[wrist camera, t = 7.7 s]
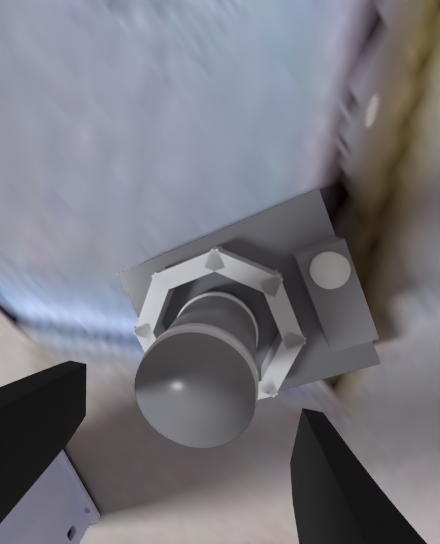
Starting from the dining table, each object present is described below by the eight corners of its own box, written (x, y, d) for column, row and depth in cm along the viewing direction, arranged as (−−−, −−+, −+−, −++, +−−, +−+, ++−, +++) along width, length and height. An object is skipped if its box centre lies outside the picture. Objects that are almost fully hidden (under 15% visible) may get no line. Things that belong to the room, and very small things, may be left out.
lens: (267, 299, 14) (273, 356, 8) (247, 371, 15) (241, 465, 10) (187, 280, 15) (141, 320, 9) (173, 351, 16) (124, 429, 10)
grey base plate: (365, 346, 16) (404, 392, 12) (193, 395, 19) (173, 448, 14) (310, 192, 15) (332, 181, 10) (133, 267, 17) (92, 283, 13)
